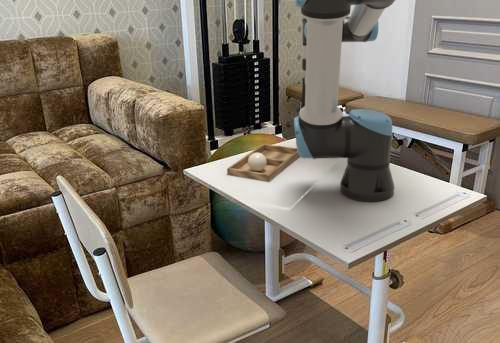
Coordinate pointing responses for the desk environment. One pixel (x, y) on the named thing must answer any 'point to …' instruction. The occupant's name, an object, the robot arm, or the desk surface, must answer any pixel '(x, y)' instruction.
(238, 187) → the desk surface
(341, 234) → the desk surface
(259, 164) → the ceramic ball
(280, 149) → the wooden tray
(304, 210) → the desk surface
